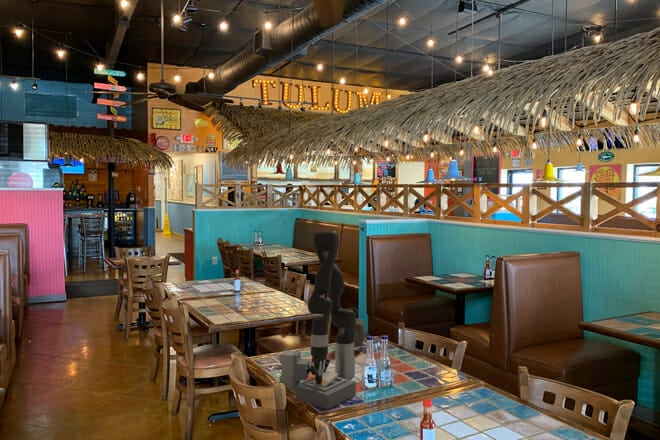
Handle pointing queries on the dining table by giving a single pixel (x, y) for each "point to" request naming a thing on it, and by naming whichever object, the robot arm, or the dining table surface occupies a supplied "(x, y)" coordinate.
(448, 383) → the dining table surface
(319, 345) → the robot arm
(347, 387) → the box
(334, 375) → the breaker rocker
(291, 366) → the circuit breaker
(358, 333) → the tabletop clock
